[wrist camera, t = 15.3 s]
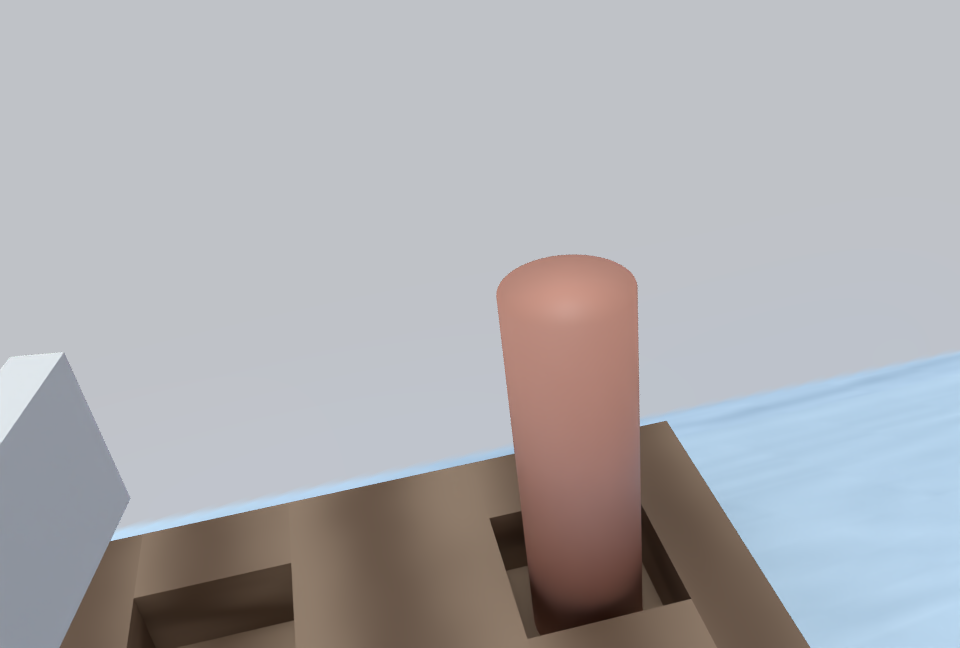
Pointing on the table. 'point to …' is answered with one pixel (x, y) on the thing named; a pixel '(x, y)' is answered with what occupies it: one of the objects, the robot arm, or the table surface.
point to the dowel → (576, 434)
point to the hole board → (426, 572)
